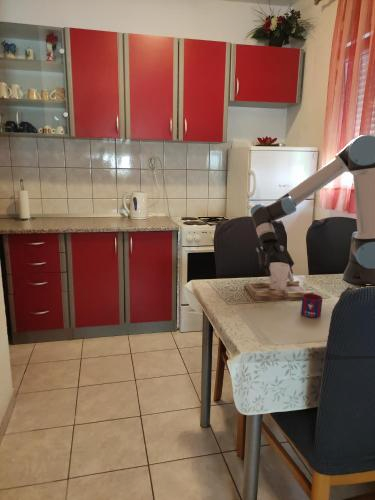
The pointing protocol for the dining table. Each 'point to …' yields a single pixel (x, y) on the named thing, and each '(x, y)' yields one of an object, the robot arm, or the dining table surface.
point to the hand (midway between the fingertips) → (282, 282)
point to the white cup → (279, 275)
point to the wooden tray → (275, 291)
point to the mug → (311, 305)
